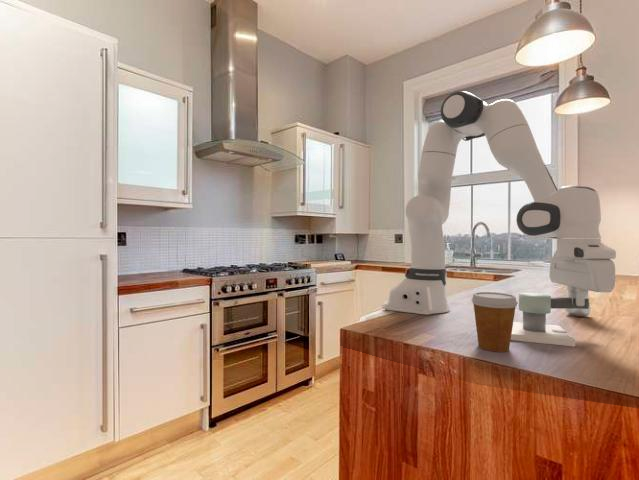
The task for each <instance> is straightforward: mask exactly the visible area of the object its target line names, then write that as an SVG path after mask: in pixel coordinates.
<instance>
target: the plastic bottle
mask: <svg viewBox="0 0 639 480" xmlns="http://www.w3.org/2000/svg"><path fill="white" fill-rule="evenodd" d="M589 296H590V295H589V293H588V294H587V296H586V298H588V299H589V300H590V298H589ZM565 298H572V297H571V295H570V292H569V286H567V285H566V297H565ZM564 311H565V312H566V314H567V315H570V316H573V317H578V318H579V317H588V316H589V315H590V314H591V303H590V302H589V309H564Z"/></svg>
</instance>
